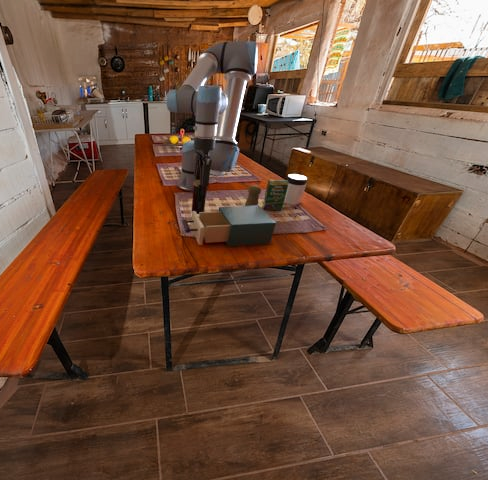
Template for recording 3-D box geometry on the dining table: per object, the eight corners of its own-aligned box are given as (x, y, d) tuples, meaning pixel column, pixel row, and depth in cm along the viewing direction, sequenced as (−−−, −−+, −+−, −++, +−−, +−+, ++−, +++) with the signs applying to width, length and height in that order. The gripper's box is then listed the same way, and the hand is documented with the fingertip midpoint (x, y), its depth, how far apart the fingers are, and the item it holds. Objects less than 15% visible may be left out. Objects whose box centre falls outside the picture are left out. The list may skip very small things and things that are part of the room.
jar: (292, 206, 117) (300, 181, 110) (277, 200, 122) (283, 176, 116) (303, 202, 121) (311, 177, 114) (288, 196, 127) (295, 172, 120)
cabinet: (227, 246, 88) (231, 224, 83) (216, 227, 99) (218, 206, 95) (270, 243, 90) (276, 222, 85) (253, 225, 101) (258, 205, 97)
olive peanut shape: (255, 214, 109) (260, 190, 103) (241, 210, 112) (246, 186, 106) (259, 209, 114) (264, 185, 108) (245, 205, 116) (250, 182, 110)
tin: (190, 208, 107) (192, 180, 100) (202, 208, 107) (205, 179, 101) (193, 214, 102) (195, 184, 96) (205, 214, 103) (209, 184, 96)
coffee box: (262, 209, 113) (269, 181, 106) (261, 206, 116) (268, 178, 109) (281, 211, 112) (289, 182, 105) (280, 208, 115) (288, 180, 108)
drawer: (186, 246, 86) (187, 228, 83) (180, 227, 96) (181, 211, 93) (239, 242, 89) (242, 225, 85) (227, 225, 99) (230, 209, 95)
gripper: (189, 132, 96) (185, 190, 109) (201, 142, 81) (195, 208, 94) (208, 132, 97) (202, 189, 110) (223, 142, 82) (214, 208, 95)
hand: (199, 198), depth 102 cm, fingers closed on tin, 5 cm apart
